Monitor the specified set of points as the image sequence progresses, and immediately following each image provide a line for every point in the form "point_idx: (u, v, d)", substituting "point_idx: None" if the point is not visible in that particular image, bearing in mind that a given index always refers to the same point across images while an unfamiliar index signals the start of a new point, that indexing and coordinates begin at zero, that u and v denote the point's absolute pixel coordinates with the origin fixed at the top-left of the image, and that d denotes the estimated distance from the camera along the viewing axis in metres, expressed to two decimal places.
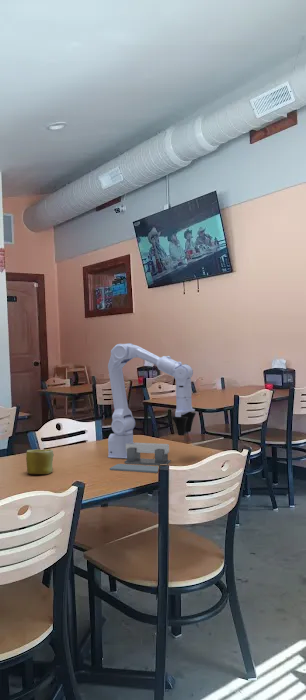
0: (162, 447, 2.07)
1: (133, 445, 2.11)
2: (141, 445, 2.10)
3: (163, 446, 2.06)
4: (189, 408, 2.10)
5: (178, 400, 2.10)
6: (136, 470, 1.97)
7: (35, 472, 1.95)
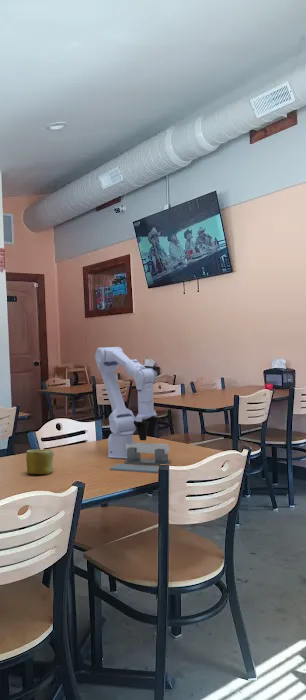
0: (162, 447, 2.07)
1: (133, 445, 2.11)
2: (141, 445, 2.10)
3: (163, 446, 2.06)
4: (151, 412, 2.08)
5: (140, 404, 2.08)
6: (136, 470, 1.97)
7: (35, 472, 1.95)
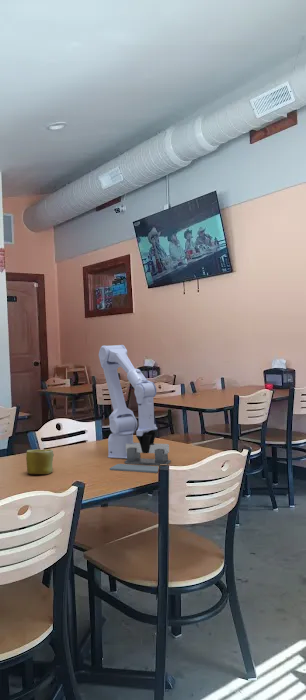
0: (162, 447, 2.07)
1: (133, 445, 2.11)
2: None
3: (163, 446, 2.06)
4: (151, 426, 2.08)
5: (140, 418, 2.08)
6: (136, 470, 1.97)
7: (35, 472, 1.95)
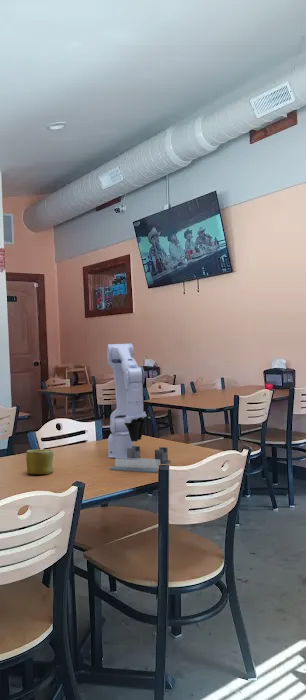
0: None
1: None
2: (132, 467, 2.00)
3: None
4: (140, 413, 1.99)
5: (128, 405, 1.99)
6: (136, 470, 1.97)
7: (35, 472, 1.95)
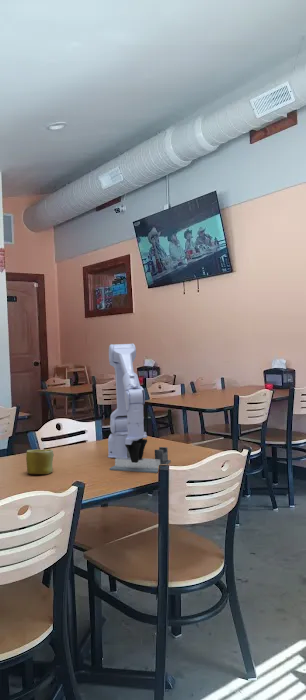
0: None
1: None
2: (132, 467, 2.00)
3: None
4: (141, 434, 1.99)
5: (129, 426, 1.99)
6: (136, 470, 1.97)
7: (35, 472, 1.95)
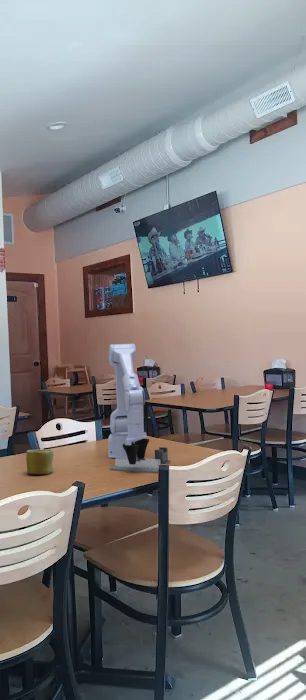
0: None
1: None
2: (132, 467, 2.00)
3: None
4: (141, 435, 1.99)
5: (129, 427, 1.99)
6: (136, 470, 1.97)
7: (35, 472, 1.95)
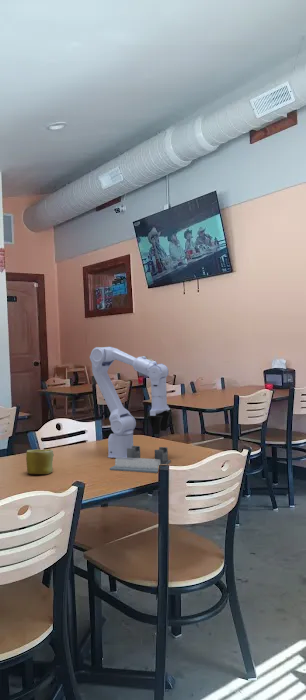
0: None
1: None
2: (132, 467, 2.00)
3: None
4: (164, 407, 2.12)
5: (153, 399, 2.12)
6: (136, 470, 1.97)
7: (35, 472, 1.95)
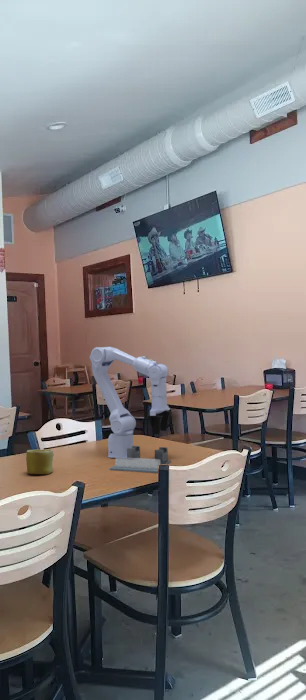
0: None
1: None
2: (132, 467, 2.00)
3: None
4: (164, 407, 2.12)
5: (153, 399, 2.12)
6: (136, 470, 1.97)
7: (35, 472, 1.95)
